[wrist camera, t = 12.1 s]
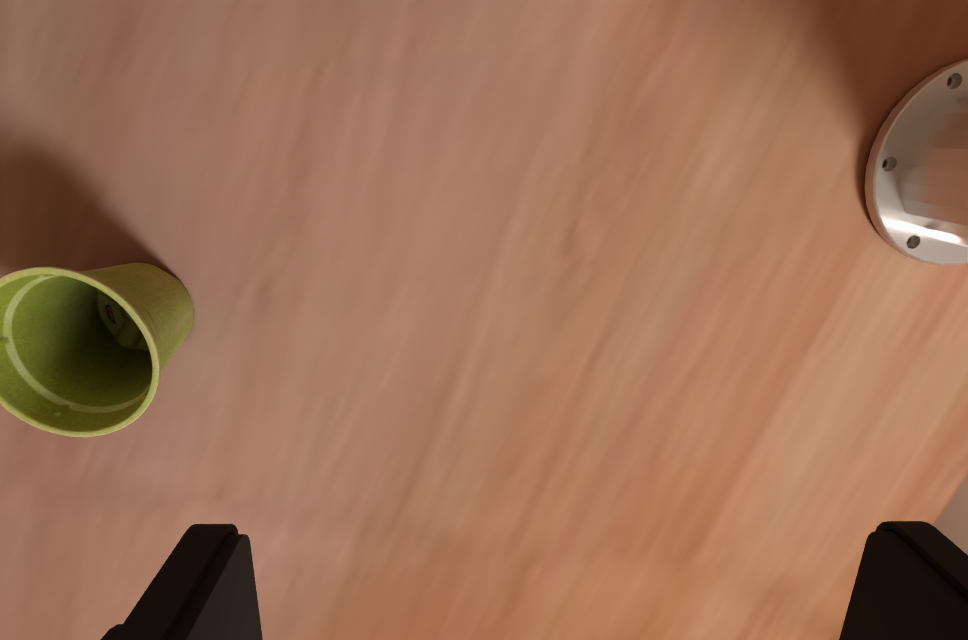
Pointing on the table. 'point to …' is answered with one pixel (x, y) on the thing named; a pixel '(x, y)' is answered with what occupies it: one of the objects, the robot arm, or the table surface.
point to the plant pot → (87, 344)
